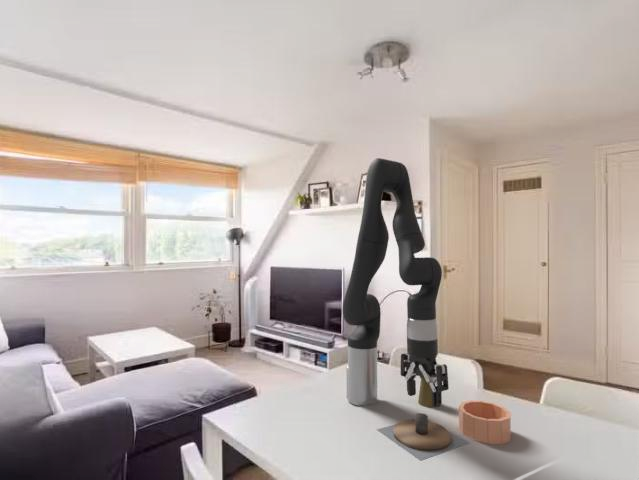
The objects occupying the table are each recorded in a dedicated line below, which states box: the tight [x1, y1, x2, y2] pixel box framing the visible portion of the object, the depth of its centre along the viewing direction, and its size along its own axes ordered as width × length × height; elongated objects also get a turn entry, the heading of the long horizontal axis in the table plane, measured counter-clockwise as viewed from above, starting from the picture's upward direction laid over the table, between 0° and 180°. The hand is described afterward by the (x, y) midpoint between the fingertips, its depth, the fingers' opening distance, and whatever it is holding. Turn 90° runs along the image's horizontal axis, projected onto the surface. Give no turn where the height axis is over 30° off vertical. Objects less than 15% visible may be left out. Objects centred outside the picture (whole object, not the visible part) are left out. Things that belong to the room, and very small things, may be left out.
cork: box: [417, 375, 437, 408], centre depth 114 cm, size 6×6×11 cm
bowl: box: [458, 399, 512, 445], centre depth 96 cm, size 12×12×6 cm
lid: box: [393, 412, 451, 451], centre depth 94 cm, size 14×14×5 cm
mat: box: [376, 419, 470, 462], centre depth 94 cm, size 16×16×1 cm
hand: (423, 400), depth 94 cm, fingers open, 8 cm apart
